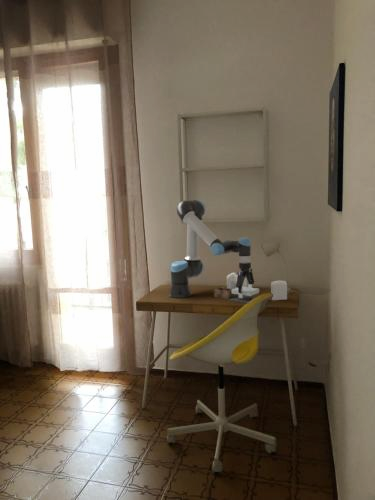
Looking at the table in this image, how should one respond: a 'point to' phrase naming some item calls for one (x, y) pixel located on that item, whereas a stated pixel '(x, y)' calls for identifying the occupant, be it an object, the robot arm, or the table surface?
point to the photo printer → (279, 290)
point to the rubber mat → (242, 299)
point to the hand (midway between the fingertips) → (245, 295)
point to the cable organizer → (234, 281)
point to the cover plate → (246, 291)
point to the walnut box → (224, 293)
